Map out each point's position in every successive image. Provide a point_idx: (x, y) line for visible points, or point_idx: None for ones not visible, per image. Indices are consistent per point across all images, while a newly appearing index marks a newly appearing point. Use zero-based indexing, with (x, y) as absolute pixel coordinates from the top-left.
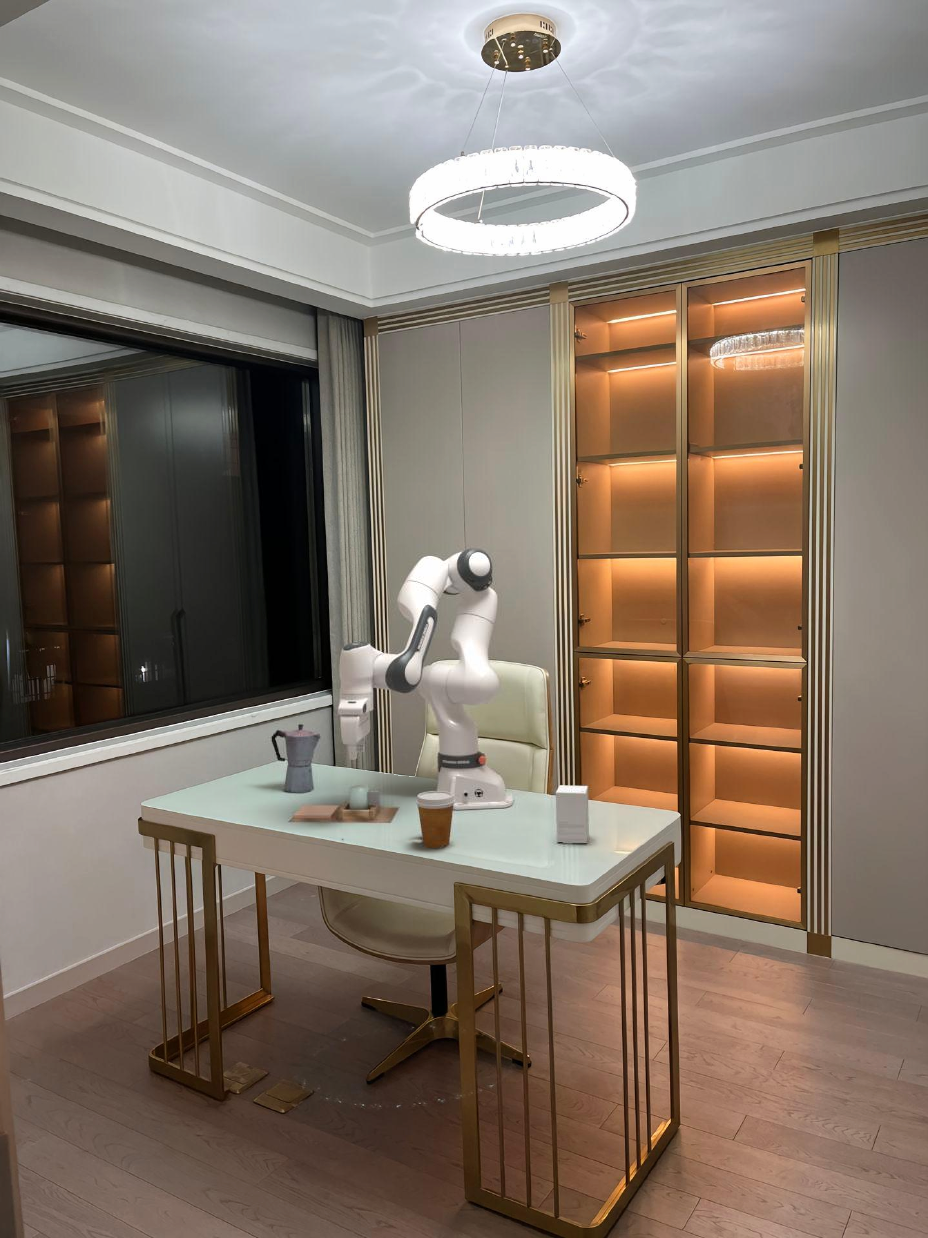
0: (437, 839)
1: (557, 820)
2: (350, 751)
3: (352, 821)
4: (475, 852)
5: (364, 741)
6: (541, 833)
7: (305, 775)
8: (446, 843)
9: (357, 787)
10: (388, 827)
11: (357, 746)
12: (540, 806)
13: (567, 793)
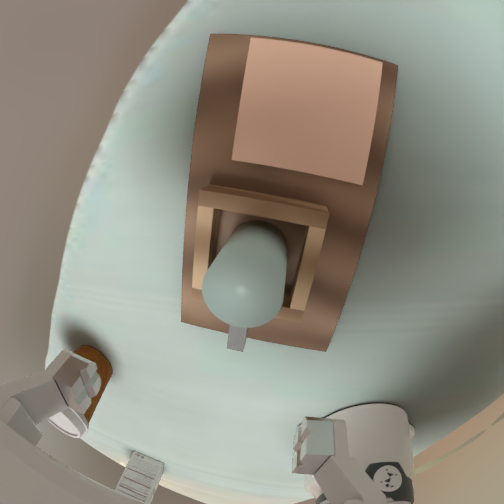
0: None
1: (125, 469)
2: (34, 383)
3: (193, 229)
4: None
5: (328, 500)
6: (166, 456)
7: None
8: None
9: (245, 290)
10: (179, 311)
11: (304, 455)
12: (292, 482)
13: None
